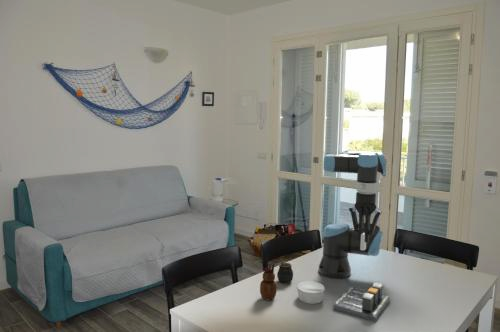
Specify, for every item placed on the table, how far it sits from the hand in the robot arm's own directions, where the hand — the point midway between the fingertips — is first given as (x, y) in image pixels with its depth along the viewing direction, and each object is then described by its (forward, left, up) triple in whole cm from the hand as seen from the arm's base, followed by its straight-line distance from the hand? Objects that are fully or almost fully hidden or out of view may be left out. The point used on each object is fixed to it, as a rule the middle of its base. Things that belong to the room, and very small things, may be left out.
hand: (363, 249), depth 159 cm
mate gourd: (-33, -4, -21) cm, 39 cm away
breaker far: (+7, 0, -18) cm, 19 cm away
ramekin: (-16, -13, -21) cm, 30 cm away
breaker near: (+7, -12, -18) cm, 23 cm away
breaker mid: (+7, -6, -18) cm, 20 cm away
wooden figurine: (-30, -23, -21) cm, 44 cm away
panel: (+3, -6, -21) cm, 22 cm away
